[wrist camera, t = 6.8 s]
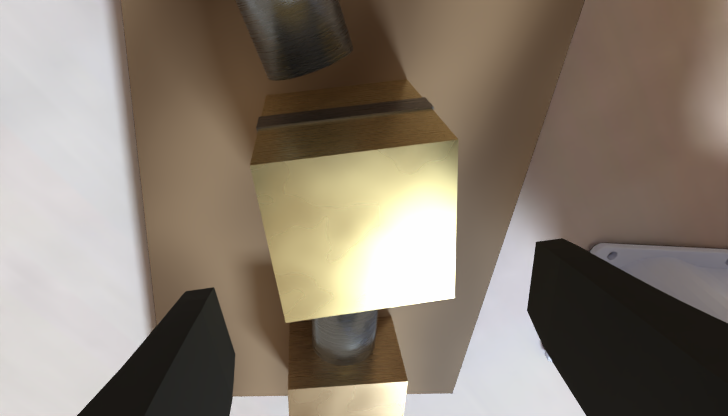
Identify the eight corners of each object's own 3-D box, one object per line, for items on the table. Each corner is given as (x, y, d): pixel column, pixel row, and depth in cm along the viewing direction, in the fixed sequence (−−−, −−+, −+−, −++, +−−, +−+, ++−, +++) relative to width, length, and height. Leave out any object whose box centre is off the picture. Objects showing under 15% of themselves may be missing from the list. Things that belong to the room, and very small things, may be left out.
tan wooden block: (408, 77, 16) (460, 137, 11) (412, 202, 19) (455, 298, 13) (264, 94, 16) (247, 163, 10) (288, 218, 18) (284, 324, 13)
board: (650, -267, 13) (680, -285, 12) (446, 375, 26) (452, 393, 25) (92, -421, 11) (69, -462, 10) (170, 377, 23) (164, 397, 22)
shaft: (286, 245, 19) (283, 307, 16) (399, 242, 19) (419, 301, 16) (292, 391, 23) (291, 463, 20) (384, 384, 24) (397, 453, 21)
